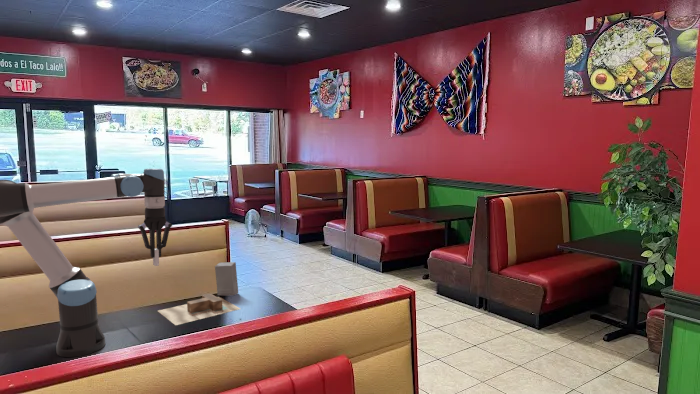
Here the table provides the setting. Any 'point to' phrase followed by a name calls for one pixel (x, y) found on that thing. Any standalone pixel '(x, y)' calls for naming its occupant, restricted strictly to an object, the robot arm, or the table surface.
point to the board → (183, 316)
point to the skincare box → (226, 278)
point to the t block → (205, 304)
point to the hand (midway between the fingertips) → (156, 265)
